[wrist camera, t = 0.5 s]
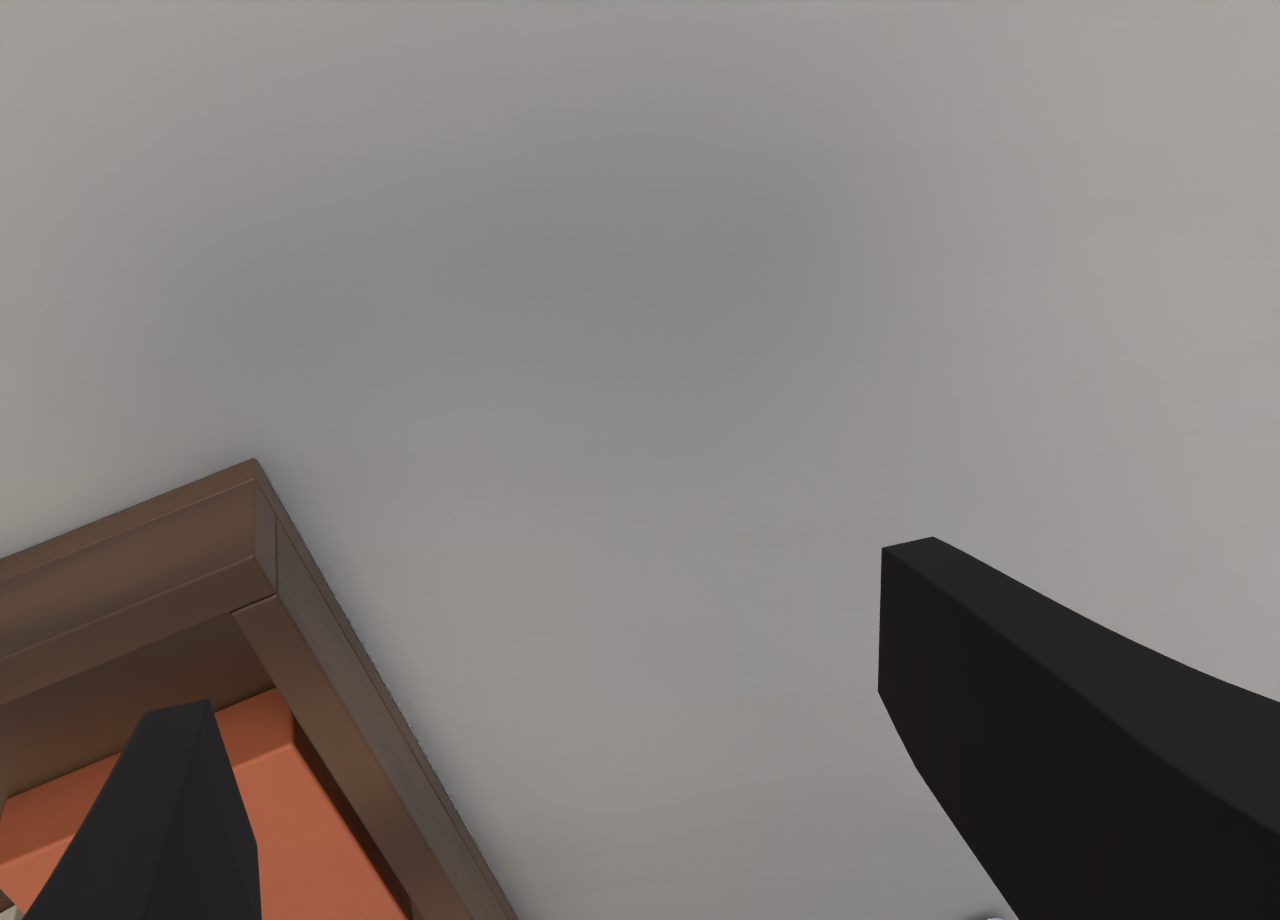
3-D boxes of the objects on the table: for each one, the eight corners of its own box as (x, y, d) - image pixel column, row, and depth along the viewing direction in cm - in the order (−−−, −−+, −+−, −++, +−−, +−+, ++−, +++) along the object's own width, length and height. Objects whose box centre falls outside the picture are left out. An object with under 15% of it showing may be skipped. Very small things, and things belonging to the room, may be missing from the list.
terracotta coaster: (407, 865, 25) (416, 934, 24) (154, 974, 25) (147, 1051, 23) (290, 678, 22) (292, 743, 21) (3, 798, 22) (-17, 873, 20)
